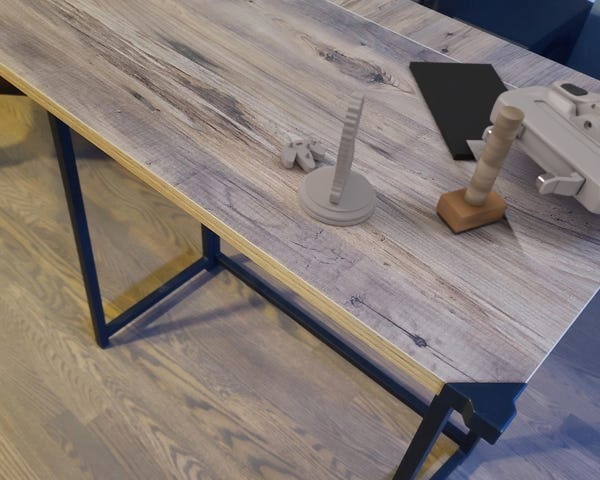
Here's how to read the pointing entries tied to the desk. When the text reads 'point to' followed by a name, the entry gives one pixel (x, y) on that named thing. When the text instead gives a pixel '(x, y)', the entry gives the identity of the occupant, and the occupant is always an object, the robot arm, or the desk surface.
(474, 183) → the wooden peg stand
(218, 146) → the desk surface
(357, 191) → the grey upright stand
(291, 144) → the game controller
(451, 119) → the notched black mat
